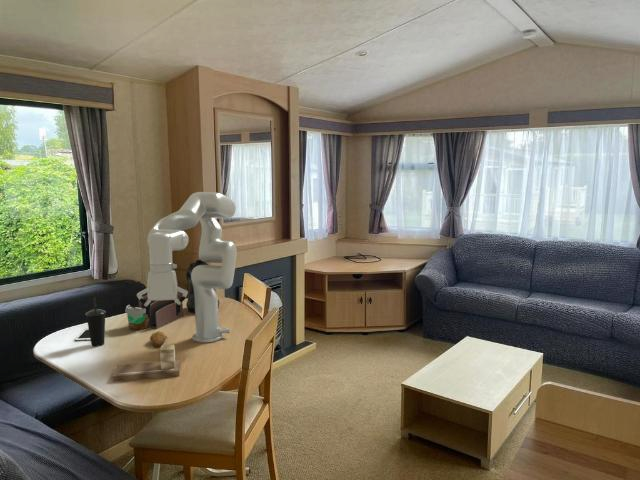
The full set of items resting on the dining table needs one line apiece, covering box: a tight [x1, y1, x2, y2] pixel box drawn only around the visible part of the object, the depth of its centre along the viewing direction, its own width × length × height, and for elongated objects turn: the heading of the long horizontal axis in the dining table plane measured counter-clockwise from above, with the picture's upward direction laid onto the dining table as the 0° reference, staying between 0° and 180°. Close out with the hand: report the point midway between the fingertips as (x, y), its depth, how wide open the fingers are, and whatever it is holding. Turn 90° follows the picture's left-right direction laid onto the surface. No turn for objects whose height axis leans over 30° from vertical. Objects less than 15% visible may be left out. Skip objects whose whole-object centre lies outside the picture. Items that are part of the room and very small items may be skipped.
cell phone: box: [74, 328, 91, 342], centre depth 217 cm, size 8×15×1 cm, turn 7°
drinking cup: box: [84, 296, 107, 348], centre depth 204 cm, size 8×8×20 cm
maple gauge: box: [159, 344, 176, 369], centre depth 179 cm, size 5×5×7 cm
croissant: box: [149, 331, 168, 348], centre depth 208 cm, size 14×7×5 cm, turn 15°
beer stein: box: [185, 259, 221, 315], centre depth 253 cm, size 16×19×25 cm
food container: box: [124, 304, 150, 332], centre depth 224 cm, size 12×6×10 cm, turn 68°
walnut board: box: [112, 359, 181, 383], centre depth 178 cm, size 22×10×2 cm, turn 103°
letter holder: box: [137, 294, 184, 330], centre depth 235 cm, size 10×20×14 cm, turn 159°
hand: (163, 315), depth 177 cm, fingers open, 9 cm apart
